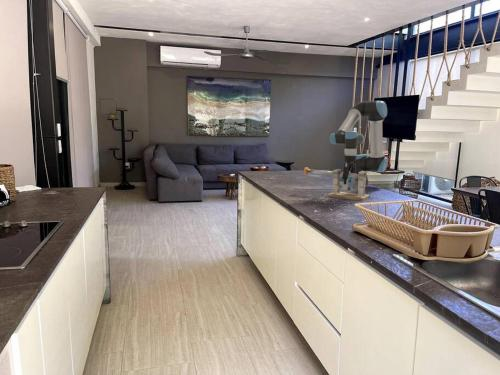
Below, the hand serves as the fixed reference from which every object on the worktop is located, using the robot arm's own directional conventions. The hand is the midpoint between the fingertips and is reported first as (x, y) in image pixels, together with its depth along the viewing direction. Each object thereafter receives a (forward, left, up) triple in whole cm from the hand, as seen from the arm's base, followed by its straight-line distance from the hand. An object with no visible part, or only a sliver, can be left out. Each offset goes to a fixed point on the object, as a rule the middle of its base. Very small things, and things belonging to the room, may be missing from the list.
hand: (348, 187), depth 249 cm
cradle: (0, 0, -6) cm, 6 cm away
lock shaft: (0, -20, +6) cm, 21 cm away
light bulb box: (0, 0, -2) cm, 2 cm away
